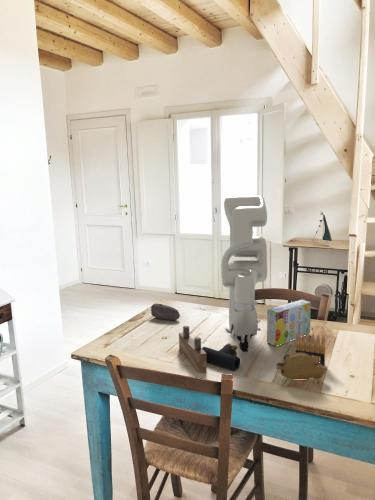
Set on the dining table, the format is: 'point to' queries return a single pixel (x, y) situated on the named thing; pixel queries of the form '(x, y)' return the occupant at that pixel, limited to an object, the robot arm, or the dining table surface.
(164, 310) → the perforated stone tool
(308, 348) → the ammunition clip
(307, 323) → the snack box
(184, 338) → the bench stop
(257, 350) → the dining table surface
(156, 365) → the dining table surface
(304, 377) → the wooden carving
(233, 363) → the pipe connector
